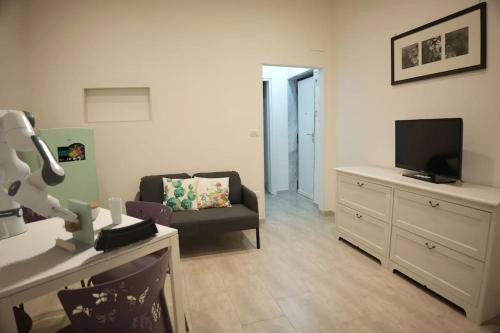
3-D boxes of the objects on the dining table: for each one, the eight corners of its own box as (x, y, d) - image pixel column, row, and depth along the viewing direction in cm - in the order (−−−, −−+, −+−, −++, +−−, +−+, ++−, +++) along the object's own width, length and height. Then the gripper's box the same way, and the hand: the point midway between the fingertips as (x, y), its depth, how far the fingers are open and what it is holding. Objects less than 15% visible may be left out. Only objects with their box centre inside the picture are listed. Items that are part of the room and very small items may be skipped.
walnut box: (69, 233, 132) (67, 217, 131) (64, 231, 135) (62, 215, 133) (81, 229, 137) (79, 213, 135) (76, 227, 139) (74, 212, 138)
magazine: (158, 216, 150) (100, 214, 127) (162, 217, 148) (103, 215, 125) (152, 248, 149) (92, 252, 126) (156, 249, 146) (95, 254, 124)
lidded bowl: (104, 218, 175) (102, 201, 174) (81, 224, 166) (79, 206, 165) (97, 214, 184) (95, 198, 182) (75, 220, 175) (73, 202, 173)
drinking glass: (118, 225, 163) (116, 200, 161) (108, 224, 164) (105, 200, 162) (126, 221, 169) (123, 197, 167) (116, 220, 171) (113, 197, 168)
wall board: (73, 253, 128) (67, 209, 125) (55, 245, 138) (49, 204, 134) (95, 245, 136) (90, 203, 133) (77, 238, 146) (71, 199, 143)
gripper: (63, 203, 122) (89, 218, 131) (43, 197, 133) (68, 211, 143) (53, 216, 119) (80, 230, 128) (33, 209, 130) (59, 223, 140)
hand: (74, 220), depth 136 cm, fingers closed on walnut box, 5 cm apart
